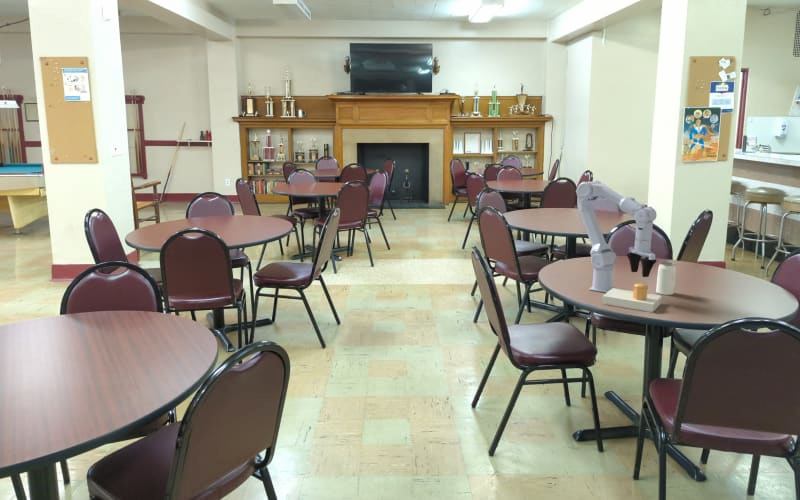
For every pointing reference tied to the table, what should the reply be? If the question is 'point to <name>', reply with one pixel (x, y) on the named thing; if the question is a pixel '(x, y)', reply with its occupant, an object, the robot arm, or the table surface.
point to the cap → (640, 291)
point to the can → (666, 278)
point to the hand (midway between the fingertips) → (639, 274)
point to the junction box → (631, 300)
